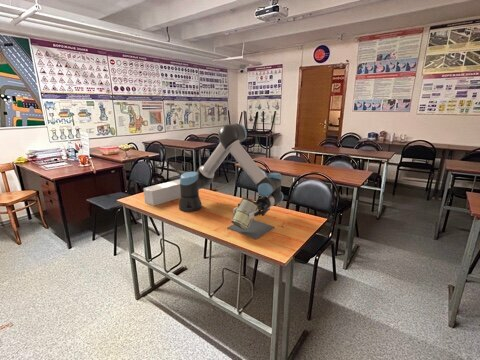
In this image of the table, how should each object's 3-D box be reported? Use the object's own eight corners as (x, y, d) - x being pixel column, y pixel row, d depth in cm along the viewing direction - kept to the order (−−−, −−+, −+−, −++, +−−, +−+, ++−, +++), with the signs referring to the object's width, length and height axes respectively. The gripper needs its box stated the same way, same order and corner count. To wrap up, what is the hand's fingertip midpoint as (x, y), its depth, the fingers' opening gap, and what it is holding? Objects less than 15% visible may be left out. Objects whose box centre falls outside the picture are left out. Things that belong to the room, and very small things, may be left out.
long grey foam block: (153, 206, 180) (152, 191, 177) (144, 202, 187) (143, 188, 184) (190, 194, 204) (189, 181, 201) (181, 191, 210) (180, 178, 207)
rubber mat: (227, 228, 147) (227, 227, 147) (247, 218, 161) (247, 217, 161) (256, 239, 135) (256, 238, 135) (275, 227, 149) (275, 226, 148)
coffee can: (227, 220, 142) (239, 197, 146) (242, 229, 145) (253, 207, 150) (235, 220, 132) (248, 196, 137) (251, 230, 136) (263, 207, 140)
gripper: (281, 213, 149) (258, 226, 133) (249, 203, 163) (225, 214, 146) (282, 200, 147) (259, 212, 130) (250, 192, 161) (225, 202, 144)
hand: (241, 213), depth 138 cm, fingers closed on coffee can, 10 cm apart
